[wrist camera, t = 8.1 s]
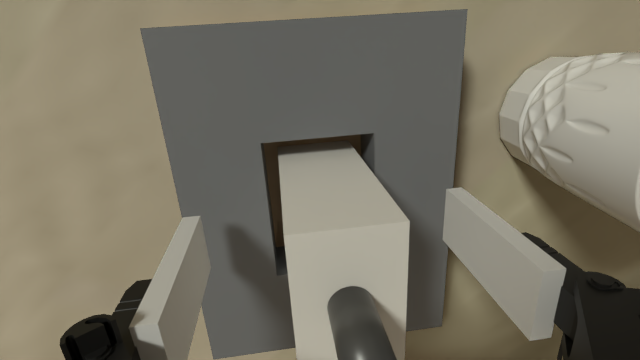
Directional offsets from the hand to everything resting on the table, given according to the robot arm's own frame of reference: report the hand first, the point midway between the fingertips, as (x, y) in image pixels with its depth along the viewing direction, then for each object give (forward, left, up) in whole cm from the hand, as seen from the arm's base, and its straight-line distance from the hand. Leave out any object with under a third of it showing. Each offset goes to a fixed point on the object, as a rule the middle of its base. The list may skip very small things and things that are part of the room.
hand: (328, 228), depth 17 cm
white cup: (-3, +15, -6) cm, 17 cm away
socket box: (0, 0, -6) cm, 6 cm away
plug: (0, 0, -5) cm, 5 cm away
